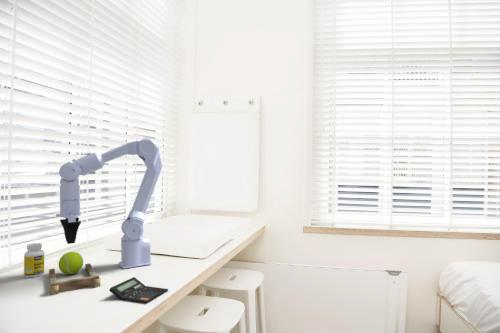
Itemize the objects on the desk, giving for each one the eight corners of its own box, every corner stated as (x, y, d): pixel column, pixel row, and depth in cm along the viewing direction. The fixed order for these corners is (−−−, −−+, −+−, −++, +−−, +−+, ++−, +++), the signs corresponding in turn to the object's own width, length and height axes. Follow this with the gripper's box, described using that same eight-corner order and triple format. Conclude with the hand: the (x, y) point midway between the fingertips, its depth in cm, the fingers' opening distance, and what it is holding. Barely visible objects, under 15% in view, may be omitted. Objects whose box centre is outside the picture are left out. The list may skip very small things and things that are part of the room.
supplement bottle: (34, 278, 106) (34, 246, 106) (19, 277, 107) (19, 246, 107) (48, 273, 111) (48, 242, 111) (34, 272, 112) (33, 242, 112)
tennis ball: (76, 269, 115) (75, 248, 115) (87, 273, 111) (87, 251, 111) (54, 275, 109) (54, 253, 109) (65, 279, 105) (65, 256, 105)
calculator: (146, 305, 86) (146, 293, 86) (109, 299, 90) (109, 287, 90) (168, 292, 94) (167, 281, 94) (133, 287, 98) (133, 276, 98)
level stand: (90, 267, 117) (90, 260, 117) (100, 286, 98) (100, 277, 98) (48, 274, 110) (48, 266, 110) (50, 295, 92) (50, 286, 92)
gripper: (54, 198, 116) (55, 239, 116) (56, 202, 104) (57, 247, 104) (78, 197, 120) (78, 236, 120) (82, 201, 107) (83, 244, 107)
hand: (70, 241), depth 112 cm, fingers open, 5 cm apart
